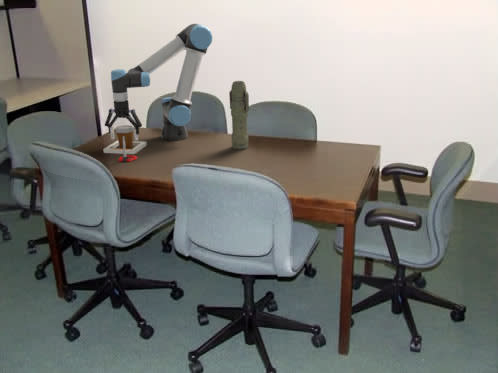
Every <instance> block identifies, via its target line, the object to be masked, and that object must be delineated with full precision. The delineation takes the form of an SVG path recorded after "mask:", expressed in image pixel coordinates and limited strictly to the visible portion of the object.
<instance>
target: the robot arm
mask: <svg viewBox="0 0 498 373" xmlns="http://www.w3.org/2000/svg"><path fill="white" fill-rule="evenodd" d="M212 43H213V34H212V31H211V30H210V29H209V28H208V27H207V26H206V25H203V24H199V23H191V24H189V25H187V26H186V27H185V28H183V29H182V30H181V31H180V32H179V33H177V34H175V38H173V39H172V40H171V41H169V42H168V43H167V44H166V45H164V46H162V47H161V48H160V49H159V50H157V51H156V52H154V53H153V54H152V55H150V56H149V57H148V58H146V59H144V60H143V61H141V62H140V63H139V64H138V65H136V66H134V67H131V68H130V69H129V70H128V71H127V72H126V69H124V68H123V69H113V70H111V72H110V80H111V89H112V100H113V108H114V109H113V108H109V109H108V114H107V117H106V120H105V121H104V122H105V123H104V127H107V128H108V134H110V140H112V141H113V140H114V139H115V138H116V137H115V131H114V130H115V129H114V126H113V125H114V124H115V122H116V121H117V119H118V118H119V119H121V118H122V119H126V120H128V121H129V123H130V125H131V126H132V127H133V129H134V130H133V135H134V136H133V137H134V141H138V140H139V135H140V128H142V126H143V125H142V122H141V120H140V119H139V117H138V115H137V113H136V110H135V108H132V109H130V108H129V107H130V105H129V104H130V103H129V95H128V89H132V88H146V87H147V88H148V87H149V86H150V85H151V77H150V75H151V74H153V73H154V72H155V71H156V70H158V69H159V68H161V67H162V66H163V65H165V64H166V63H168V62H169V61H171V60H172V59H173V58H174V57H176V56H178V55H179V54H180V53H182V52H184V51H186V52H185V55H184V60H183V63H182V68H181V71H180V74H179V78H178V81H177V86H176V90H175V93H174V95H173V96H170V97H169V96H168V97H163V98H162V99H161V109H162V110H161V112H162V123H163V125H162V128H161V133H160V139H161V140H164V141H182V140H185V139H187V138H188V131H187V130H188V129H187V128H186V125H187V124H188V123H189V122H190V120H191V117H192V113H191V112H192V111H191V109H192V106H193V103H192V101H191V98H192V94H193V90H194V87H195V85H196V81H197V76H198V73H199V70H200V66H201V63H202V59H203V56H205V55H206V54H207V51H208V49H209V47H210V46H211V44H212ZM113 114H115V115H114V116H113ZM112 117H113V118H112Z"/></svg>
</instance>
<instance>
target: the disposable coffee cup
mask: <svg viewBox="0 0 498 373" xmlns="http://www.w3.org/2000/svg"><path fill="white" fill-rule="evenodd" d="M114 130H115V131H114V132H115V133H116V136H117V141H119V149H123V136H124V139H125V147H126V149H133V146H132V144H133V137H134V136H133V135H134V126H133V125H131V124H130V125H128V124H125V125H119V126H116V127H115V129H114Z"/></svg>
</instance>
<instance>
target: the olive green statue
mask: <svg viewBox="0 0 498 373" xmlns="http://www.w3.org/2000/svg"><path fill="white" fill-rule="evenodd" d="M228 94H229V109H230V117H231V120H232V121H231V125H232V127H231V128H232V129H231V130H232V131H231V148H232V149H233V150H246V149H249V133H248V115H249V114H248V113H249V110H250V109H249V108H250V105H249V103H250V102H249V100H250V99H249V98H250V97H249V96H250V95H249V92H248V91H247V86H246V83H245V82H244V81H243V80H235V81H233V82H232V84H231V88H230V90H229V93H228Z"/></svg>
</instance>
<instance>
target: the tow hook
mask: <svg viewBox="0 0 498 373" xmlns="http://www.w3.org/2000/svg"><path fill="white" fill-rule="evenodd" d="M137 158H138V157H137V155H134V154H126V147H125V139H124V136H123V154H122V156H120V157H119V158H118V162H125V163H127V162H129V163H131V162H133V161H135V160H137Z"/></svg>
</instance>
